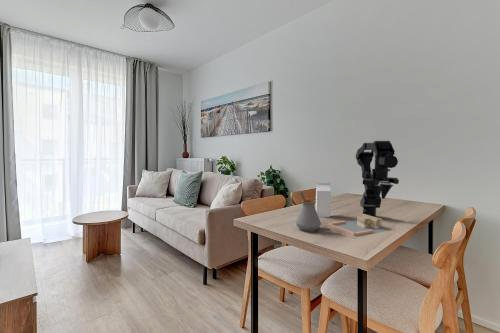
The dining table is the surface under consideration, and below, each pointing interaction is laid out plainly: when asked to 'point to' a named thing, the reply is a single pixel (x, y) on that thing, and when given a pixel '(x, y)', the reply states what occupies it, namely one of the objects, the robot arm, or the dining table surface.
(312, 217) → the coffee pot
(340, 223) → the board
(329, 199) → the milk carton
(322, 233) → the dining table surface
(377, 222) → the t block
